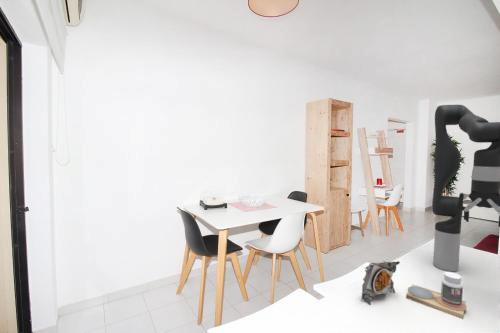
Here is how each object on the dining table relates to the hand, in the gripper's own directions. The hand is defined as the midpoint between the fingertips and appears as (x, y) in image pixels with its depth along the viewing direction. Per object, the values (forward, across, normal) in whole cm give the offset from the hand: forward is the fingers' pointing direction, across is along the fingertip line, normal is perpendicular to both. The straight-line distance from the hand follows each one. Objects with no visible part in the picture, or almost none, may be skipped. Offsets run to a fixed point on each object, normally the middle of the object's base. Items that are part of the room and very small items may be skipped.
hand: (482, 223), depth 89 cm
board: (+28, +11, +13) cm, 33 cm away
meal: (+28, +26, +24) cm, 45 cm away
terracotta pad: (+27, +7, +13) cm, 31 cm away
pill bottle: (+27, +7, +13) cm, 31 cm away
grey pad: (+27, +15, +13) cm, 34 cm away
